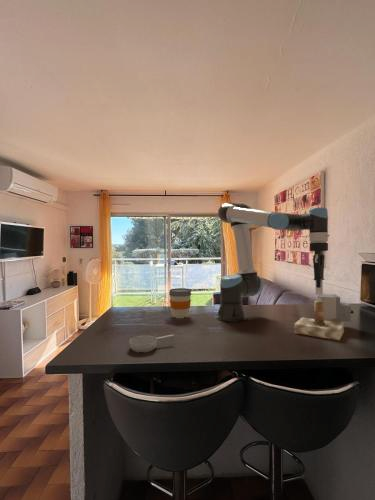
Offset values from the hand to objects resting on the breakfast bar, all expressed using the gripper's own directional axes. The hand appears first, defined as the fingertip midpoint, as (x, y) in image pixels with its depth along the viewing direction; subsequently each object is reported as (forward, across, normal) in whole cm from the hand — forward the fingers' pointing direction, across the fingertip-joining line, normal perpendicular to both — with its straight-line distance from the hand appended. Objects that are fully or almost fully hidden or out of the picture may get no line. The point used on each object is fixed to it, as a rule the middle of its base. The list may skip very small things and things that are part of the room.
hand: (319, 294), depth 126 cm
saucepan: (+17, -56, +50) cm, 77 cm away
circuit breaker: (+17, +14, -5) cm, 23 cm away
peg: (+17, 0, 0) cm, 17 cm away
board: (+17, 0, 0) cm, 17 cm away
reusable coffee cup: (+17, -11, +70) cm, 73 cm away
